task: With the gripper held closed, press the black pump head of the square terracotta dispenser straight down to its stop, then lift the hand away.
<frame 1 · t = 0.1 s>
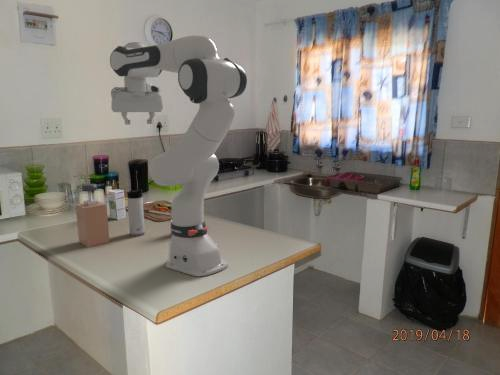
hand: (139, 124, 151), 48 cm above the countertop, fingers open, 8 cm apart
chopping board: (161, 212, 210), on the countertop
dispenser: (94, 242, 159), on the countertop
pump head: (88, 198, 157), point 18 cm above the countertop, slide at 0.0 cm
syrup box: (118, 218, 196), on the countertop
travel mug: (137, 234, 169), on the countertop
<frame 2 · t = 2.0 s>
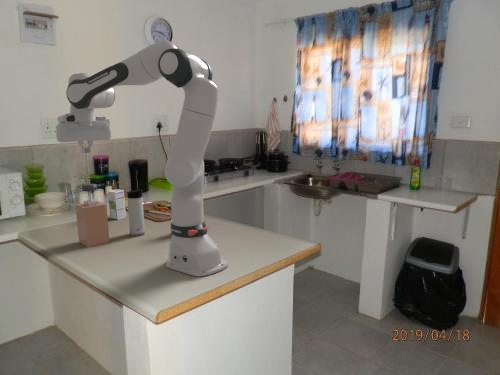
hand: (86, 152, 152), 37 cm above the countertop, fingers closed
nothing on the countertop moved.
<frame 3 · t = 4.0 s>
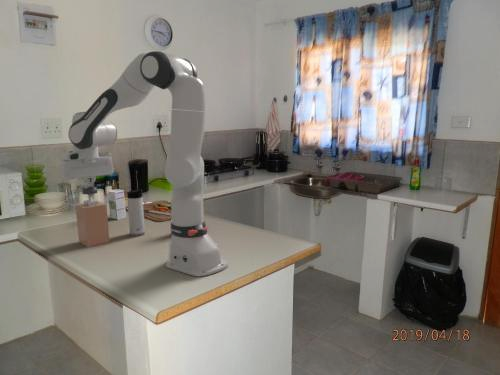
hand: (89, 187, 155), 23 cm above the countertop, fingers closed, pressing on pump head
pump head: (89, 201, 157), point 17 cm above the countertop, slide at 1.3 cm, touching gripper
everything else where it was.
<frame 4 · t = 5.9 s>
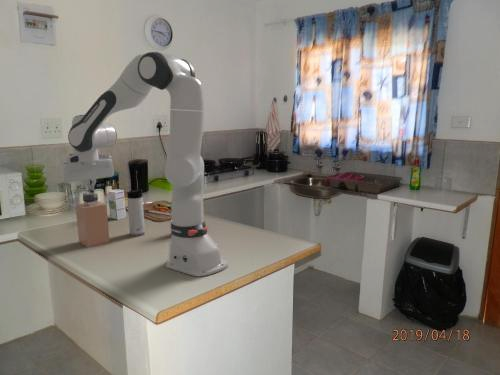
hand: (90, 190, 155), 22 cm above the countertop, fingers closed
pump head: (89, 208, 158), point 14 cm above the countertop, slide at 4.1 cm
everything else where it was.
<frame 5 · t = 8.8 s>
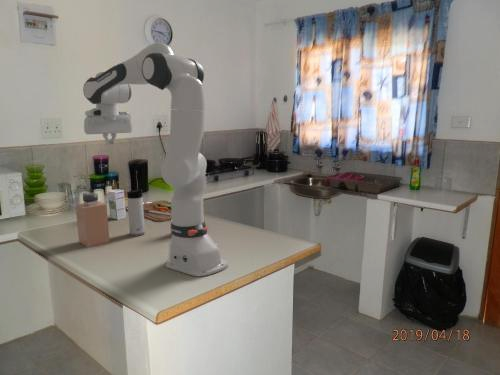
hand: (110, 144, 168), 39 cm above the countertop, fingers closed
nothing on the countertop moved.
at the end: pump head slide at 4.1 cm; the gripper is holding nothing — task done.
